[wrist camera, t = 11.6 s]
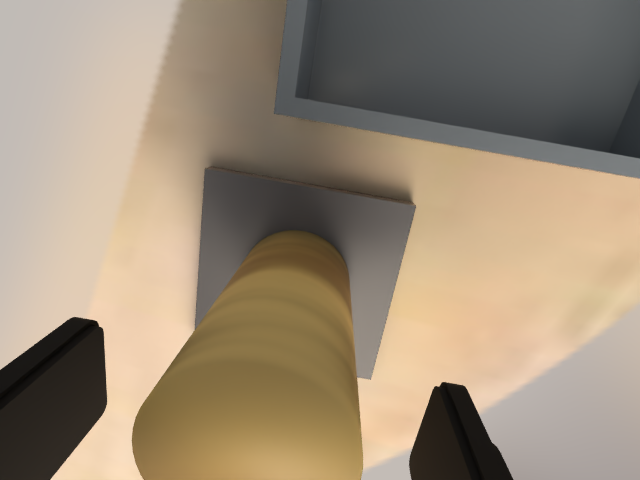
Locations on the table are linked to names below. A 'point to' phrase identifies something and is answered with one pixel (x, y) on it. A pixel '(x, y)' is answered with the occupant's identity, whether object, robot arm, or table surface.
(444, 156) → the table surface
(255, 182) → the gray square plate
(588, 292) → the table surface
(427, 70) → the slate open box
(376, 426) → the table surface
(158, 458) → the mustard cylinder
